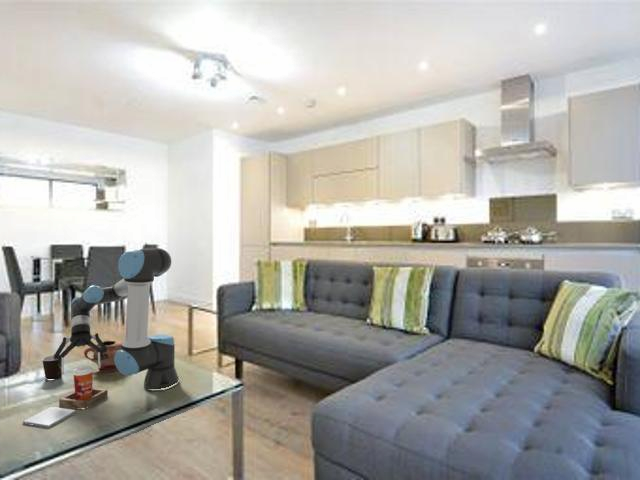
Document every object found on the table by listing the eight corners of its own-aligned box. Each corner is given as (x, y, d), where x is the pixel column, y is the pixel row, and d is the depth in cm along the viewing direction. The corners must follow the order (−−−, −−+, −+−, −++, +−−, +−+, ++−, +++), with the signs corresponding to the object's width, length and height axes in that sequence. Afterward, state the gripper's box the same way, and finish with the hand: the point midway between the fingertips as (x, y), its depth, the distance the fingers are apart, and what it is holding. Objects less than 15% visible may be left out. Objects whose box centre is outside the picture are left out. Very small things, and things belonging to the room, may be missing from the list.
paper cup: (79, 407, 161) (78, 373, 161) (69, 402, 165) (68, 369, 165) (98, 399, 168) (97, 367, 167) (88, 395, 172) (88, 364, 171)
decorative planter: (80, 376, 193) (79, 348, 192) (87, 367, 205) (86, 340, 204) (124, 372, 199) (124, 344, 198) (129, 363, 211) (128, 337, 210)
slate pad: (76, 412, 157) (76, 410, 157) (48, 428, 145) (48, 425, 145) (51, 409, 159) (51, 406, 159) (23, 423, 148) (23, 421, 148)
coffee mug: (53, 382, 185) (53, 361, 185) (38, 380, 187) (37, 360, 187) (73, 373, 197) (73, 353, 196) (59, 371, 199) (58, 352, 198)
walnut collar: (107, 396, 171) (107, 389, 171) (84, 409, 159) (84, 402, 159) (83, 393, 174) (83, 386, 174) (59, 406, 162) (59, 399, 162)
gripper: (110, 328, 191) (113, 368, 179) (48, 335, 178) (47, 379, 166) (111, 319, 186) (114, 360, 174) (47, 326, 173) (45, 371, 161)
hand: (81, 370), depth 170 cm, fingers open, 13 cm apart
